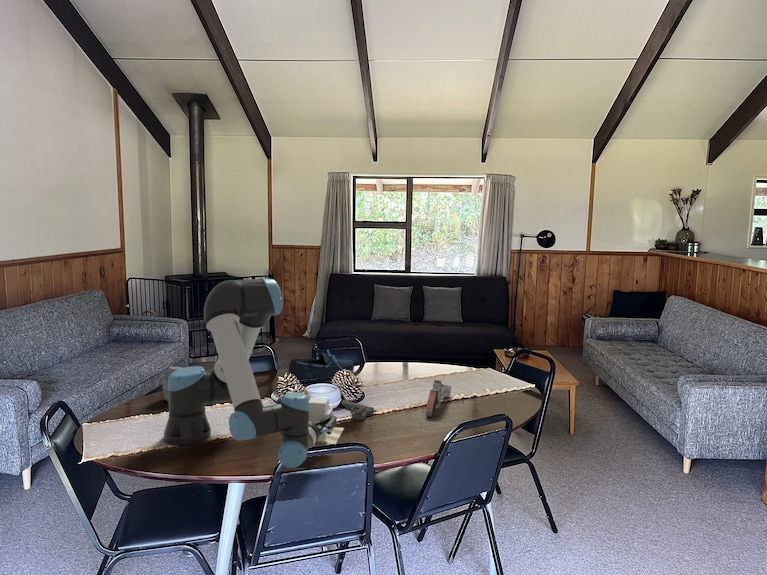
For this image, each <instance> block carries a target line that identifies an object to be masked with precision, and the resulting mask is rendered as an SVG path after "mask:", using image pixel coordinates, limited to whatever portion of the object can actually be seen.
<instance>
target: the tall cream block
mask: <svg viewBox="0 0 767 575" xmlns="http://www.w3.org/2000/svg"><path fill="white" fill-rule="evenodd" d="M309 409H310V411H309V421H311V422H316V421H320V420H322V419H323V418H325V417H326V414H327V413H328V411H329V410H330V398H329V397H315V396H314V397H311V398H310V399H309ZM328 436H329V434H327V433H326V432H323V433H322V434H320V435H319V438H318V440H317V441H326V439H327V437H328Z"/></svg>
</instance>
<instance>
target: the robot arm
mask: <svg viewBox="0 0 767 575" xmlns="http://www.w3.org/2000/svg"><path fill="white" fill-rule="evenodd" d="M282 294H283V293H282V291H281V287H280V286H279V284H278V283H277V281H276V280H275V279H272V278H251V279H249V278H248V279H236V280H235V279H229V280H224V281H222V282H220V283H218V284H216V285H215V286H214V287H213V288H212V289H211V290H210V292H209V293H208V296H207V297H206V300H205V303H204V307H203V320H204V324H205V327H206V330H207V331H208V332H211V335H212V338H213V342H214V345H215V348H216V350H217V351H216V352H217V354H218V355H217V356H218V360H217V361H215V363H214V366H213V368H211V369H205V368H204V366H200V365H196V366H187V367H181V368H182V369H179V370H176V371H174V372H173V373H172V374H171V375H170V376H169V380H168V397H169V402H168V419H167V422H166V425H165V428H164V431H163V441H164V440H165V441H166V442H168V443H167V444H169V443H170V444H169V445H173V444H175V445H174V446H188V445H189V446H190V445H195V444H199V443H202V442H204V441H207V440H208V439H210V437H211V436H212V431H211V429H212V428H211V426H210V423H209V421H208V417H207V413H206V405H211V404H215V403H222V402H223V403H224V402H228V401H231V402H232V406H233V410H234V412H232V413H231V414H230V415H229V417H228V425H229V433H230V434H231V437H232V438H233V439H234V440H235V441H245V440H252V439H253V440H254V439H256V438H259V437H263V436H267V435H271V434H272V435H273V434H277V433H281V445H280V446H279V449H278V453H277V458H278V460H279V462H280V463H281V462H282V463H281V465H283V466H284V467H285V468H289V469H295V468H298V467H299V466H301V465H302V464H303V463H304V462H305V461H306V459H307V457H308V456H307V452H308V449H309V448H312V447H313V446H314V444H315V443H316V441H317V440H318V438H319V435H320V434H322V433H323V432H326V433H327V434H331V431H332V430H333V428H334V427H336V425H337V416H336V415H335V414H334V412H333V408H330V407H329V411H328V413H327V414H326V417H325V418H323V419H322V420H320V421H316V422H311V421H309V411H310V409H309V400H310V399H309V397H308V395H307V394H305V393H303V392H295V391H294V392H288V393H286V394H284V395H282V396H281V401H280V403H276V404H271V405H267V406H264V404H263V401H262V399H261V395H260V392H259V389H258V385H256V381H255V380H256V379H255V375H254V373H253V369H252V366H251V363H250V360H249V359H251V358H250V357H251V355H252V352H253V350H254V346H255V345H256V342H257V339H258V336H259V334H260V332H261V329H262V328H264V327H266V326H267V325H268V323H269V322H270V319H271V317H272V316H274V317H275V316H278V315H280V314H281V312H282V310H283V302H284V300H283V295H282ZM165 441H164V442H165ZM166 442H165V443H166Z"/></svg>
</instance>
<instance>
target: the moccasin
mask: <svg viewBox="0 0 767 575" xmlns="http://www.w3.org/2000/svg"><path fill="white" fill-rule="evenodd" d="M326 351H327V352H326V353H327V354H325V353H324V352H319V353H317V354H316V356H315V357H316V358H291V359H290V361H289V364H288V369H287V370H288V373H287V374H289V373H291V374H294V375H295V376H296V377H297V379H298V380H300V381H304V382H306V381H305V380H311V379H319V378H331V379H333V378H332V376H333V375H334V374H335V373H336V372H338V371H339V370H343V369H346V370H350V371H351V373H353V371H354V369H355V364H354V361H353V360H351V359H337V358H336V357H335V355H333V354H331V351H330V350H329V349H327V350H326ZM311 381H312V380H311Z"/></svg>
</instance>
